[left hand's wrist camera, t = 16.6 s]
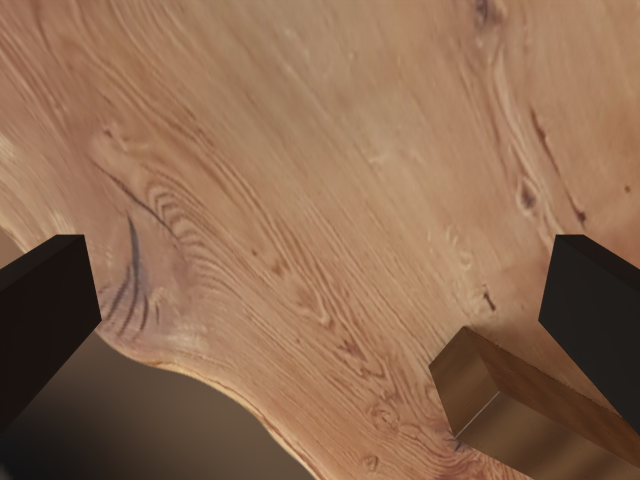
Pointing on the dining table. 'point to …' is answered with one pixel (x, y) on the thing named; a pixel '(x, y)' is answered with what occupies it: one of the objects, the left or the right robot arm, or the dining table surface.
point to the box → (529, 416)
